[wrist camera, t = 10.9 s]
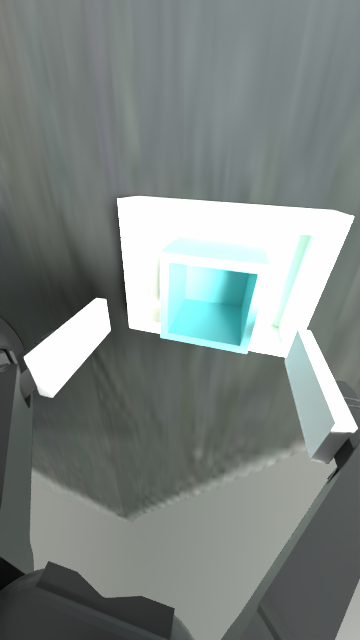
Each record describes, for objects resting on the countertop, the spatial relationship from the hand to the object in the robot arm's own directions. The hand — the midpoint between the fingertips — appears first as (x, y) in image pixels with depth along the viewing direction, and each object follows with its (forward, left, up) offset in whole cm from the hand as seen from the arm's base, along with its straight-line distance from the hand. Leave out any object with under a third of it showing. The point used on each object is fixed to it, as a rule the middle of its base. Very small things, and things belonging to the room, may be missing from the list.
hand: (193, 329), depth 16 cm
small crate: (0, 0, -11) cm, 11 cm away
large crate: (0, 0, -12) cm, 12 cm away
